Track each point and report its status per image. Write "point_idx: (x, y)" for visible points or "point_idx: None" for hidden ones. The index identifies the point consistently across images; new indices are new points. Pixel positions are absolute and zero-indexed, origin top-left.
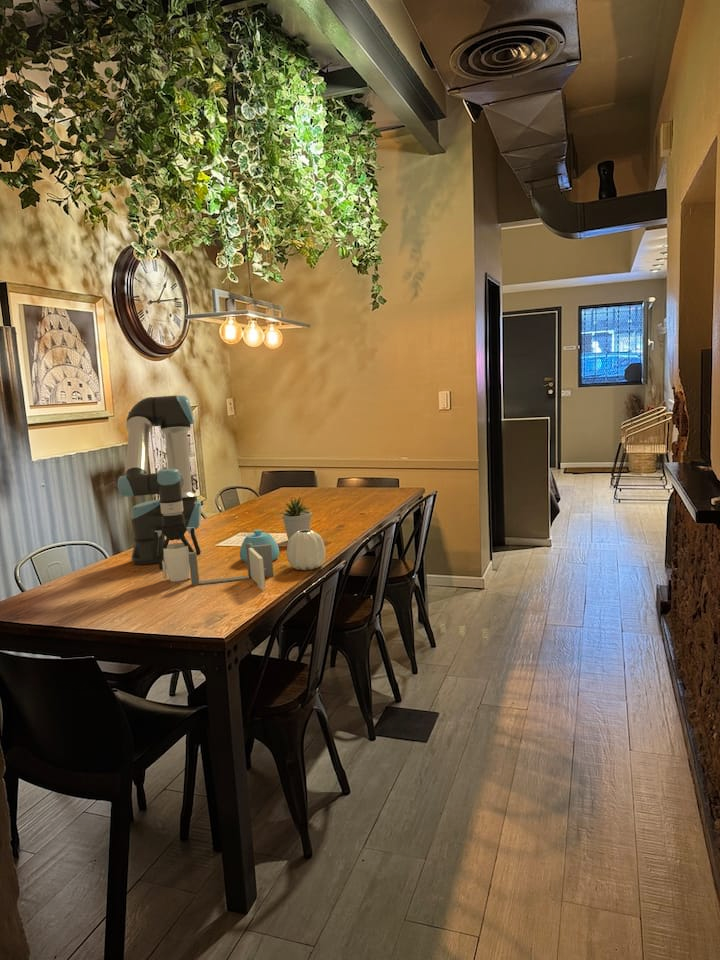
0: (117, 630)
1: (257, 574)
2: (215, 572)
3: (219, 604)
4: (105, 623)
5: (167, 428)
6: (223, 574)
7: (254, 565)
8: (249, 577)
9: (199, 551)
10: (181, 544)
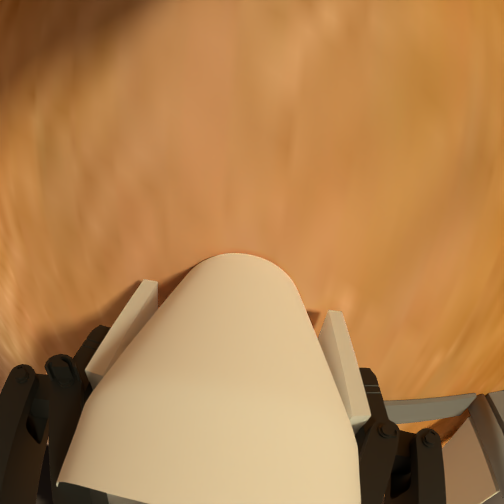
0: None
1: None
2: (453, 283)
3: None
4: None
5: None
6: (456, 335)
7: (449, 488)
8: (468, 409)
9: (406, 477)
10: (299, 495)
